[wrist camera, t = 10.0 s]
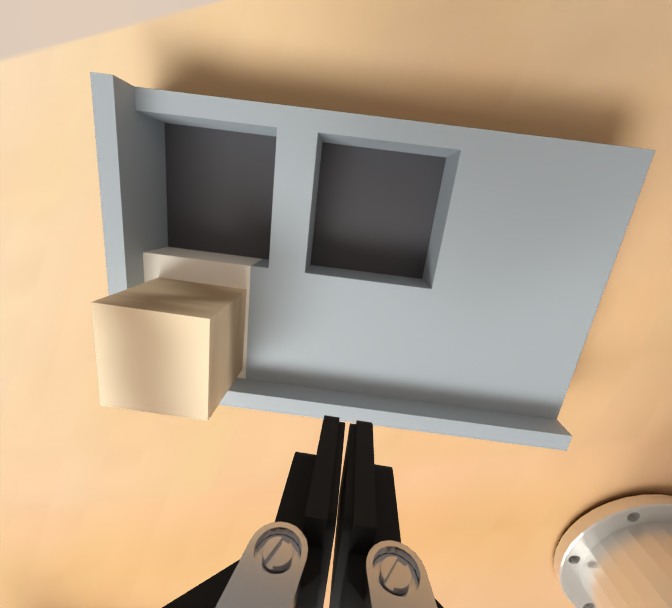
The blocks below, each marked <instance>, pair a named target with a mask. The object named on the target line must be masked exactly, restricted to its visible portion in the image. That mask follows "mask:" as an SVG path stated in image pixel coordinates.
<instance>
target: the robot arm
mask: <svg viewBox="0 0 672 608" xmlns="http://www.w3.org/2000/svg"><path fill="white" fill-rule="evenodd" d="M339 419H340V417H333V416H327V415H324V420H323V425H322V430H321V435H320V440H319V445H318V450H317V455H313V454H307V453H300V452H295V455H294V458H293V461H292V465H291V468H290V472H289V475H288V478H287V482H286V485H285V489H284V492H283V496H282V499H281V503H280V506H279V509H278V513H277V516H276V520H275V522H273V523H270V524H267V525H265V526H263V527H262V528H260V529H259V530H258V531H257V532H256V533H255V534H254V535H253V537H252V538H251V540H250V542H249V544H248V545H247V547H246V549H245V551H244V553H243V555H242V557H241V559H240V560H238V561H237V562H235V563H233V564H232V565H230V566H229V567H227V568H225V569H224V570H222V571H220V572H219V573H217V574H216V575H214V576H212V577H211V578H209V579H208V580H206V581H204V582H203V583H201V584H199V585H198V586H196V587H195V588H193V589H191V590H190V591H188V592H187V593H185V594H183V595H182V596H180V597H179V598H177V599H175V600H174V601H172V602H170V603H169V604H167V605H166V606H164V607H162V608H323V604H324V598H325V591H326V585H327V578H328V572H329V565H330V559H331V552H332V546H333V539H334V533H335V526H336V518H337V526H336V537H335V548H334V560H333V571H332V582H331V593H330V605H329V608H443V607H442V606H441V604H440V603H439V602H438V601H437V600H436V599H435V598H434V595H433V592H432V588H431V585H430V582H429V579H428V576H427V572H426V570H425V567H424V565H423V563H422V561H421V559H420V558H419V557H418V556H417V554H416V553H415V552H414V551H413V550H411V549H410V548H409V547H408V546H406V545H404V544H402V543H401V538H400V529H399V521H398V512H397V503H396V494H395V485H394V476H393V470H392V467H387V466H381V465H375V464H374V447H373V424H372V422H366V421H359V420H357V421H356V424H350V427H349V433H348V440H347V446H346V453H345V459H344V466H343V472H342V479H341V486H340V475H341V464H342V453H343V442H344V431H345V423H344V422H339ZM339 486H340V493H339ZM338 497H339V503H338ZM337 508H338V515H337ZM553 563H554V573H555V576H556V579H557V582H558V583H559V585H560V587H561V589H562V590H563V592H564V594H565V596H566V597H567V598H568V600H569V601H570V602H571V603H572V604H573V605H574V606H575V607H576V608H672V496H669V495H662V494H645V495H636V496H630V497H624V498H621V499H617V500H614V501H611V502H608V503H606V504H604V505H601V506H599V507H597V508H595V509H593V510H591V511H590V512H588V513H587V514H585V515H584V516H582V517H580V518H579V519H578V520H577V521H576V522H575V523H574V524H573V525H571V526H570V527H569V529H568V530H567V531H566V533H565V534H564V535H563V536H562V538H561V540H560V542H559V544H558V546H557V548H556V551H555V555H554V560H553Z"/></svg>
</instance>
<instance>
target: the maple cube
mask: <svg viewBox="0 0 672 608" xmlns="http://www.w3.org/2000/svg"><path fill="white" fill-rule="evenodd" d="M246 293H247V290H245V289H238V288H231V287H224V286H217V285H210V284H202V283H195V282H188V281H181V280H174V279H167V278H159V277H158V278H156V279H153V280H150V281H148V282H145V283H142V284H140V285H137V286H134V287H131V288H129V289H126V290H123V291H121V292H118V293H115V294H112V295H110V296H107V297H104V298H102V299H99V300H96V301H94V302H91V304H92V315H93V327H94V338H95V349H96V361H97V372H98V383H99V394H100V405H101V406H108V407H115V408H122V409H129V410H136V411H143V412H150V413H157V414H164V415H171V416H178V417H185V418H192V419H199V420H206V421H208V420H209V418H210V417H211V415H212V414H213V412H214V411H215V409H216V408H217V406H218V405H219V403H220V402H221V400H222V399H223V397H224V396H225V394H226V393H227V391H228V390H229V388H230V387H231V385H232V384H233V382H234V381H235V379H236V378H237V376H238V375H239V373H240V372H241V370H242V367H243V348H244V330H245V311H246Z"/></svg>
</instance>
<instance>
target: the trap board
mask: <svg viewBox="0 0 672 608" xmlns="http://www.w3.org/2000/svg"><path fill="white" fill-rule="evenodd" d="M90 76H91V88H92V100H93V112H94V124H95V135H96V147H97V159H98V171H99V183H100V195H101V207H102V219H103V231H104V243H105V255H106V267H107V278H108V290H109V296H110V295H112V294H115V293H118V292H121V291H123V290H126V289H129V288H131V287H134V286H137V285H140V284H142V283H145V282H148V281H150V280H153V279H156V278H158V277H159V278H167V279H174V280H181V281H188V282H195V283H202V284H210V285H217V286H224V287H231V288H238V289H245V290H247V293H246V311H245V330H244V348H243V367H242V370H241V372H240V373H239V375H238V376H237V378H236V379H235V381H234V382H233V384H232V385H231V387H230V388H229V390H228V391H227V393H226V394H225V396H224V397H223V399H222V400H221V402H220V403H219V405H223V406H231V407H238V408H246V409H254V410H261V411H269V412H276V413H284V414H291V415H299V416H307V417H314V418H322V419H324V415H327V416H333V417H340V419H339V421H345V422H352V423H356V421H357V420H359V421H366V422H372V424H373V425H375V426H383V427H390V428H398V429H405V430H413V431H421V432H428V433H436V434H443V435H451V436H458V437H466V438H474V439H481V440H489V441H496V442H504V443H512V444H519V445H527V446H534V447H542V448H550V449H557V450H565V451H567V449H568V446H569V444H570V441H571V438H572V435H571V434H570V433H569V432H568V431H567V430H566V429H565V428H564V427H563V426H562V425H561V424H560V423H559V422H558V421H557V420H556V419H557V417H558V414H559V411H560V409H561V406H562V403H563V400H564V398H565V395H566V392H567V390H568V387H569V384H570V381H571V379H572V376H573V373H574V370H575V368H576V365H577V362H578V360H579V357H580V354H581V351H582V349H583V346H584V343H585V341H586V338H587V335H588V332H589V330H590V327H591V324H592V321H593V319H594V316H595V313H596V311H597V308H598V305H599V302H600V300H601V297H602V294H603V292H604V289H605V286H606V283H607V281H608V278H609V275H610V272H611V270H612V267H613V264H614V262H615V259H616V256H617V253H618V251H619V248H620V245H621V243H622V240H623V237H624V234H625V232H626V229H627V226H628V224H629V221H630V218H631V215H632V213H633V210H634V207H635V204H636V202H637V199H638V196H639V194H640V191H641V188H642V185H643V183H644V180H645V177H646V175H647V172H648V169H649V166H650V164H651V161H652V158H653V155H654V153H655V150H649V149H641V148H633V147H625V146H617V145H608V144H600V143H592V142H584V141H576V140H567V139H559V138H551V137H543V136H535V135H526V134H518V133H510V132H502V131H494V130H485V129H477V128H469V127H461V126H453V125H444V124H436V123H428V122H420V121H412V120H403V119H395V118H387V117H379V116H371V115H362V114H354V113H346V112H338V111H330V110H321V109H313V108H305V107H297V106H289V105H280V104H272V103H264V102H256V101H248V100H239V99H231V98H223V97H215V96H207V95H198V94H190V93H182V92H174V91H166V90H157V89H149V88H141V87H134V86H132V85H130V84H129V83H127V82H125V81H123V80H121V79H119V78H118V77H116V76H114V75H110V74H102V73H94V72H90Z"/></svg>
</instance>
